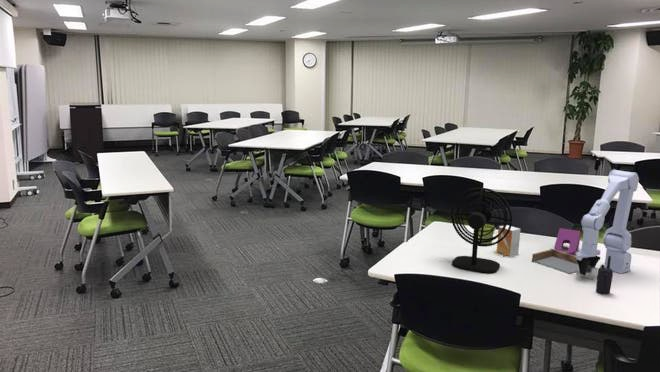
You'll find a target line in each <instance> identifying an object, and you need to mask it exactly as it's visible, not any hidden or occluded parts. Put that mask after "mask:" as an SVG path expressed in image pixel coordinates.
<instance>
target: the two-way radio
mask: <svg viewBox="0 0 660 372" xmlns="http://www.w3.org/2000/svg"><path fill="white" fill-rule="evenodd" d="M610 261H611V256H609V257H608V262H607V267H604V265H605V264H601V265H600V266H601V267H598V269H597V278H596V286H595V291H596V293H599V294H610V292H611V289H612V283H613V275H614V274H613V273H614V271H612V269H611V268H610Z"/></svg>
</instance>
